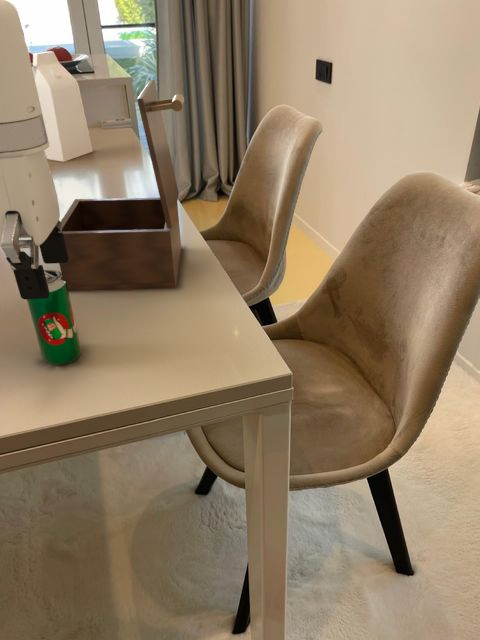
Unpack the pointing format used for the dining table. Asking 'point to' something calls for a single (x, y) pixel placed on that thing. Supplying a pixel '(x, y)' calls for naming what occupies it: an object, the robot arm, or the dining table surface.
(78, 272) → the brown wooden box
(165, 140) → the lid
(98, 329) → the dining table surface
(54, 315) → the soda can
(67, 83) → the milk
